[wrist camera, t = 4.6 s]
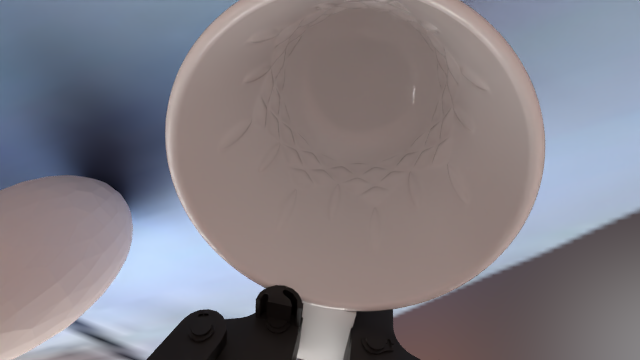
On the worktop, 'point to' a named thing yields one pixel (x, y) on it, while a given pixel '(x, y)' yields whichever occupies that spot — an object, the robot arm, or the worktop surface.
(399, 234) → the white cup
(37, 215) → the egg
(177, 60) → the worktop surface
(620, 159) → the worktop surface
